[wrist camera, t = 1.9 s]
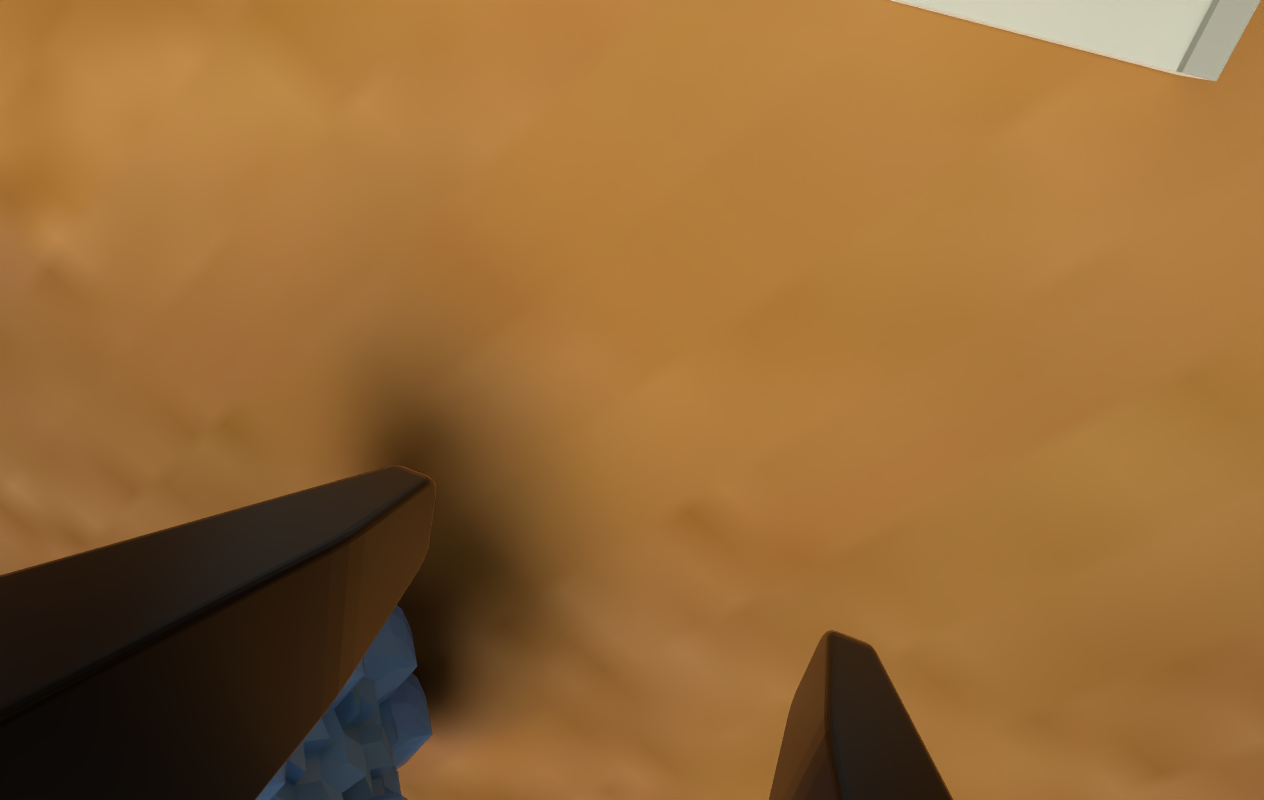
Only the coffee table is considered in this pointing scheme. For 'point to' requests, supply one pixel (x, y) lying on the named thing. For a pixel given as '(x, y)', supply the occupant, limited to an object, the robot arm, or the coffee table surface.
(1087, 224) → the coffee table surface
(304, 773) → the grapes
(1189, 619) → the coffee table surface
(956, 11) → the board
